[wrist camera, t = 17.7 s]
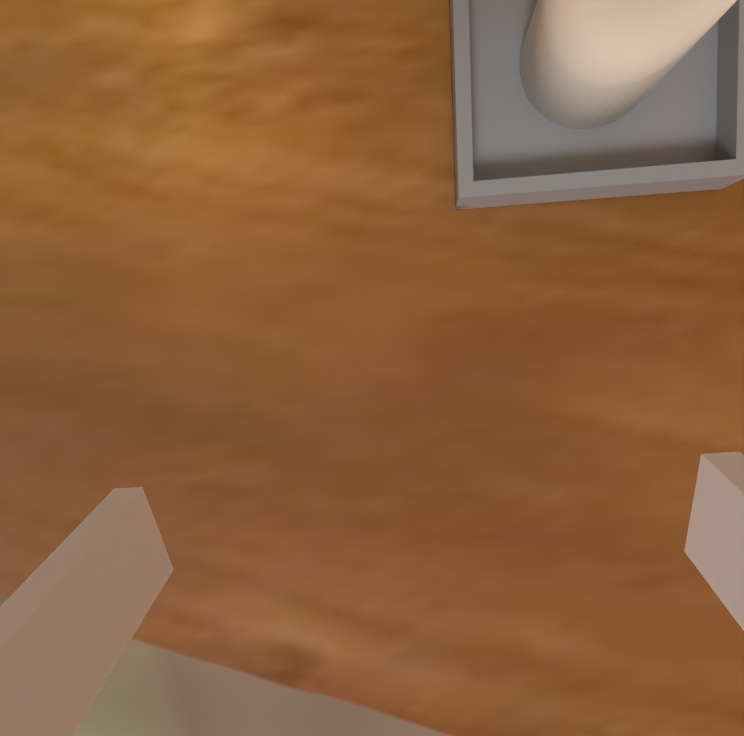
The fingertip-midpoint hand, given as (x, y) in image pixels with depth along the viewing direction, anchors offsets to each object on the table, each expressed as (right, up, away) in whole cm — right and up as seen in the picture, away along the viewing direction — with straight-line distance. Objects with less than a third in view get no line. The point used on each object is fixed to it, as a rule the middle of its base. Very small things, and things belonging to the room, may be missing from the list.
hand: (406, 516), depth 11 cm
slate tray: (+14, +25, +20) cm, 35 cm away
